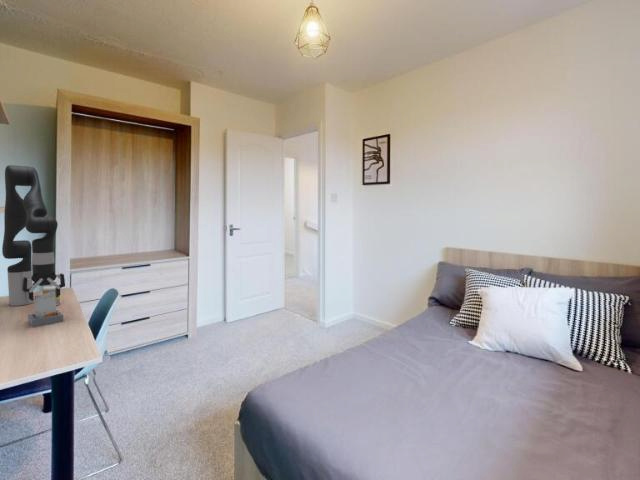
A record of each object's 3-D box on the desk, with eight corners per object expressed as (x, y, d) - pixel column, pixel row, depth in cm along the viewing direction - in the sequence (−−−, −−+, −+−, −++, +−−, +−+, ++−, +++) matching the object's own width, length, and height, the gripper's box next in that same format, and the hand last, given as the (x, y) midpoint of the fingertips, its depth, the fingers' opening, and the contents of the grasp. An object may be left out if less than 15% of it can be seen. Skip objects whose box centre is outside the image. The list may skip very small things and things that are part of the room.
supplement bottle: (43, 304, 167) (42, 280, 166) (59, 302, 172) (58, 279, 171) (43, 307, 162) (42, 282, 161) (60, 305, 167) (59, 281, 166)
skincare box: (43, 323, 140) (41, 296, 139) (35, 323, 141) (34, 296, 140) (57, 319, 146) (56, 293, 145) (49, 318, 147) (48, 293, 146)
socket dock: (28, 321, 142) (27, 314, 142) (57, 316, 150) (57, 309, 150) (32, 327, 136) (32, 320, 136) (63, 321, 144) (63, 314, 143)
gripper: (61, 259, 149) (63, 294, 150) (20, 263, 138) (21, 299, 139) (65, 262, 144) (67, 297, 145) (22, 265, 133) (24, 303, 135)
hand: (44, 298), depth 142 cm, fingers open, 8 cm apart
